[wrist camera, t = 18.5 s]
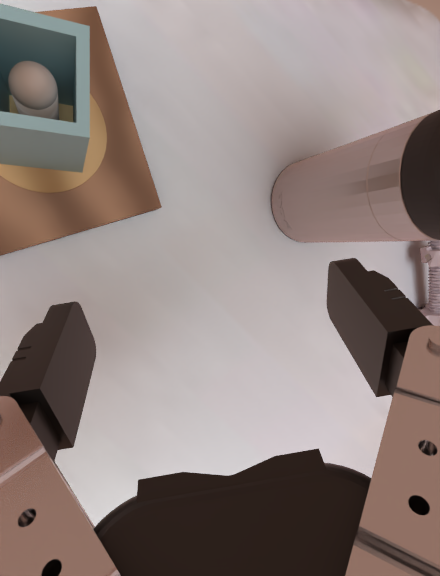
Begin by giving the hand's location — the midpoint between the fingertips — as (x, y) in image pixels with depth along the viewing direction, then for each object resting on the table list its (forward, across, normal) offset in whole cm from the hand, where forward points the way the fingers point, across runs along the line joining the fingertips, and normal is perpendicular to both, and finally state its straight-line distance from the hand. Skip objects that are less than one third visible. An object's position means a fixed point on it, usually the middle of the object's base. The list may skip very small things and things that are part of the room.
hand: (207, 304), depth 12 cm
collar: (+24, +11, -3) cm, 26 cm away
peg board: (+26, +12, -2) cm, 28 cm away
